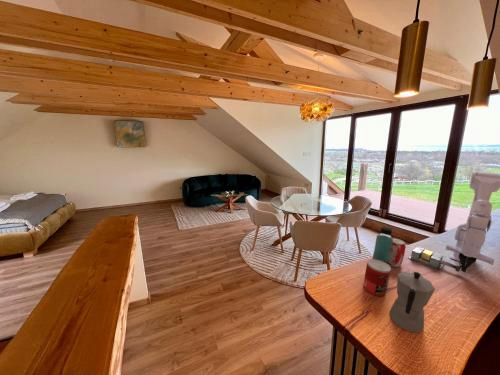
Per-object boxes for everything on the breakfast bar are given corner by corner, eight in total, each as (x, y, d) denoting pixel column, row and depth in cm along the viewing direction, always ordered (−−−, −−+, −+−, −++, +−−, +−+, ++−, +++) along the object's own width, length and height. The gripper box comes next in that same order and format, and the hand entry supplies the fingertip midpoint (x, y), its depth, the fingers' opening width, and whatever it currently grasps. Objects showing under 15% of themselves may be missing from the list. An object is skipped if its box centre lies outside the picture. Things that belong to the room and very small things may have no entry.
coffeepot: (392, 302, 77) (402, 258, 73) (425, 317, 71) (438, 270, 67) (382, 328, 66) (393, 278, 62) (420, 349, 60) (435, 295, 56)
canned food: (378, 299, 78) (383, 273, 75) (358, 286, 85) (362, 261, 82) (390, 293, 82) (395, 268, 79) (370, 280, 88) (375, 257, 86)
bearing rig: (408, 258, 106) (410, 250, 105) (413, 253, 110) (415, 245, 109) (439, 270, 96) (441, 261, 95) (444, 264, 101) (446, 256, 100)
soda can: (404, 269, 97) (409, 245, 94) (387, 267, 98) (392, 243, 95) (397, 260, 103) (402, 238, 101) (381, 258, 105) (385, 236, 102)
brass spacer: (420, 260, 103) (422, 252, 102) (423, 257, 106) (425, 249, 105) (428, 263, 101) (430, 255, 100) (431, 260, 104) (433, 252, 102)
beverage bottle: (370, 270, 95) (378, 229, 90) (370, 263, 101) (377, 224, 96) (388, 275, 92) (397, 233, 87) (386, 267, 98) (394, 227, 93)
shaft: (419, 257, 104) (420, 252, 103) (421, 256, 106) (422, 250, 105) (458, 273, 93) (460, 267, 92) (459, 270, 95) (461, 264, 94)
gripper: (447, 238, 93) (439, 265, 96) (496, 253, 82) (486, 283, 85) (451, 234, 97) (443, 260, 100) (498, 247, 86) (488, 277, 89)
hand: (463, 270), depth 93 cm, fingers closed
